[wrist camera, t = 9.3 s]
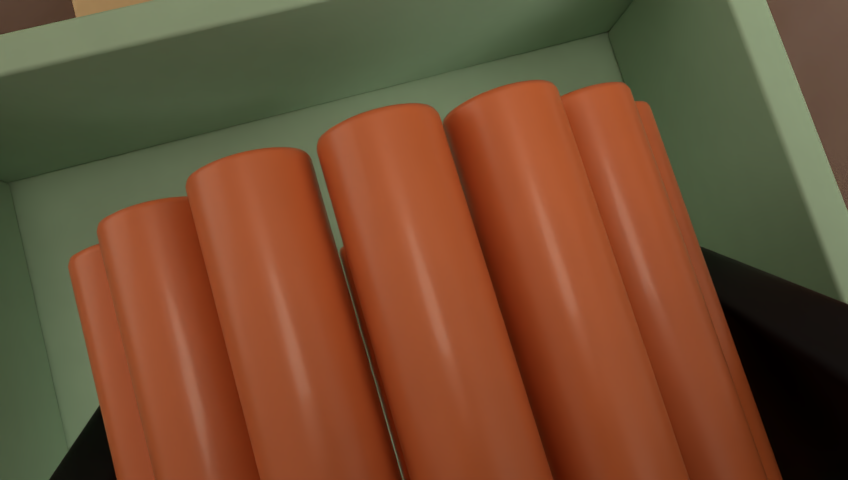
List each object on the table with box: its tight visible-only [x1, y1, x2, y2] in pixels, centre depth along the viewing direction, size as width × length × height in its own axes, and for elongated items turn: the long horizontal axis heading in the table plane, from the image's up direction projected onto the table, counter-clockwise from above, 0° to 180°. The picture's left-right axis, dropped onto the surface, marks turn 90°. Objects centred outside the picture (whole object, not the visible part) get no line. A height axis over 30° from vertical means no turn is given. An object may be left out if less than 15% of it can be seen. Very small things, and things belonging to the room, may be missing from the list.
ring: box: [68, 80, 783, 480], centre depth 8 cm, size 5×6×6 cm
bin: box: [0, 0, 848, 480], centre depth 11 cm, size 13×13×4 cm
